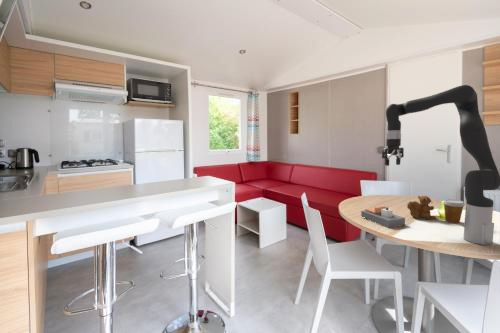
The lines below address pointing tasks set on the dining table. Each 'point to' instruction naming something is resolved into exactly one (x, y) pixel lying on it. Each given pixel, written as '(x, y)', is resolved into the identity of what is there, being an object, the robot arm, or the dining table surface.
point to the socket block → (384, 219)
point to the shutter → (375, 209)
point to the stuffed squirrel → (421, 208)
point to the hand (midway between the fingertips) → (392, 165)
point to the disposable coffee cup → (453, 210)
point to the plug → (386, 212)
